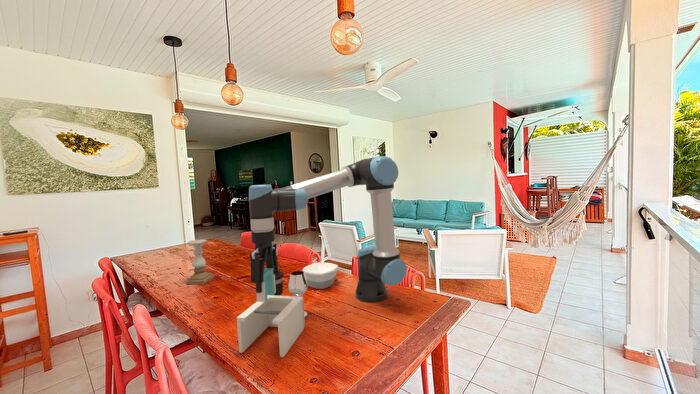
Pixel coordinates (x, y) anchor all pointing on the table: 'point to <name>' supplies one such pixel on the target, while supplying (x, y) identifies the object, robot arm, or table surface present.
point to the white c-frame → (272, 321)
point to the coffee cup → (279, 283)
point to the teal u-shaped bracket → (268, 282)
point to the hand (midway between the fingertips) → (266, 296)
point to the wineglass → (298, 284)
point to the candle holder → (199, 265)
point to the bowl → (320, 274)
